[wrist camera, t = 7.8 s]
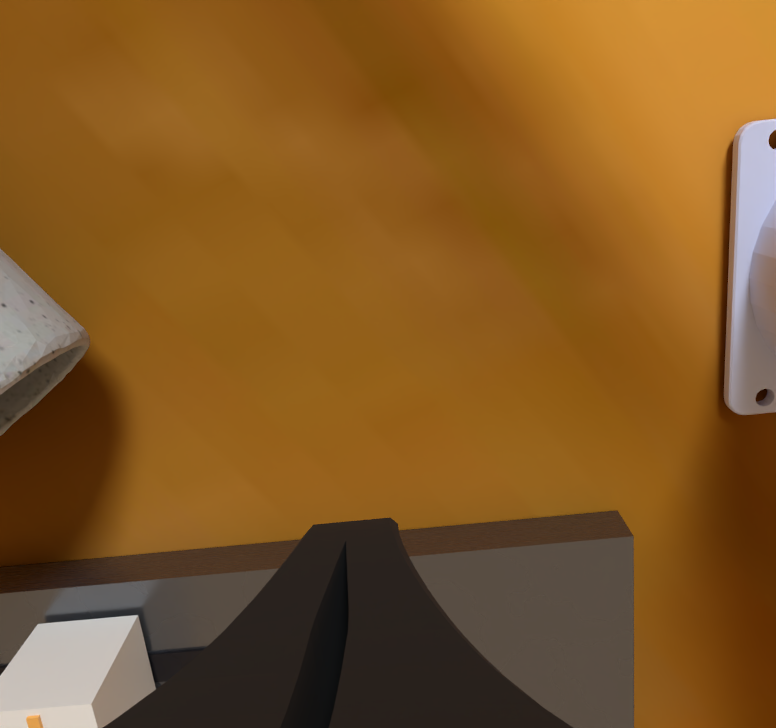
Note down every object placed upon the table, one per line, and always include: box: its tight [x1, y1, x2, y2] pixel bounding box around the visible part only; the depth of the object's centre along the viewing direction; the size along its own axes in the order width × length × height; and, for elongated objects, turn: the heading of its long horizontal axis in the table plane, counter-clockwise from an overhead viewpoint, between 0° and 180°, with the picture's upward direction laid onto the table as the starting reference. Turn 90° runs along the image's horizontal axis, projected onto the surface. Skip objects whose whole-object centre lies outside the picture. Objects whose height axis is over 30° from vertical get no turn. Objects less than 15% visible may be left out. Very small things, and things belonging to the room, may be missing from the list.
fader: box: [0, 615, 156, 728], centre depth 20 cm, size 3×4×4 cm
